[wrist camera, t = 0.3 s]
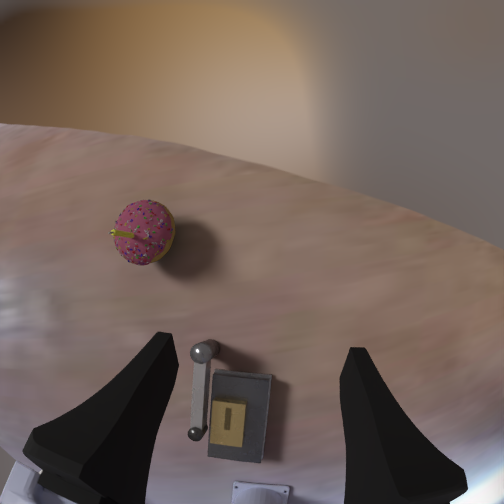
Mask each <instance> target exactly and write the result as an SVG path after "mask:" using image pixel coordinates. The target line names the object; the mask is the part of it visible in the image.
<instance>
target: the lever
mask: <svg viewBox="0 0 504 504" xmlns="http://www.w3.org/2000/svg"><path fill="white" fill-rule="evenodd" d="M219 351H220V347H219V344H218V343H217V342H216V341H215V340H212V339H209V340H206V341H203V342H200V343H198V344H195V345H194V346H193V347H192V348H191V351H190V356H191V358H192V360H193V361H194V372H193V388H192V406H191V426H190V430H189V431H188V437H189V438H190V439H191V440H193V441H200V440H201V439H202V437H203V436H204V434H205V433H206V431H207V429H208V426H207V412H208V397H209V382H210V368H211V359H212V358H213V357H215V356H216V355H217V354H218V353H219Z"/></svg>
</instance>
